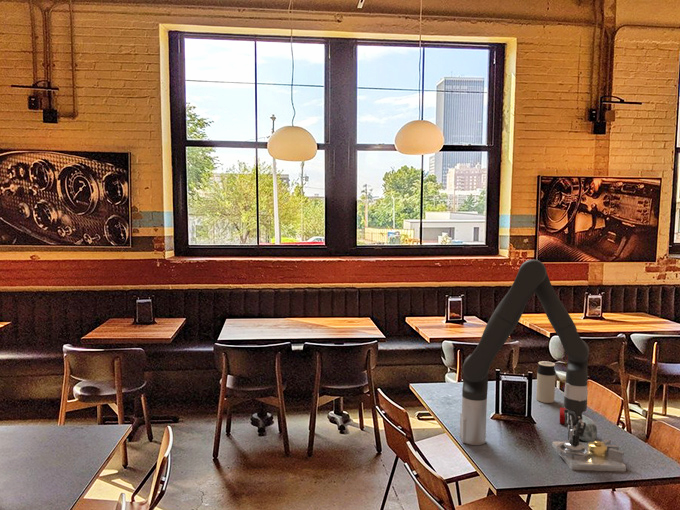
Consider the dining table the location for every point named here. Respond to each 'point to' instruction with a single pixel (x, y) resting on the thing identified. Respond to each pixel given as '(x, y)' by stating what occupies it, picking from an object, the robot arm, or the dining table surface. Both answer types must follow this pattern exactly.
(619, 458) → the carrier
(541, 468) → the dining table surface
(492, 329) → the robot arm
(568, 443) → the silver knob
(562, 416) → the mechanical linkage
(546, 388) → the travel mug
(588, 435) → the streaked stone egg
